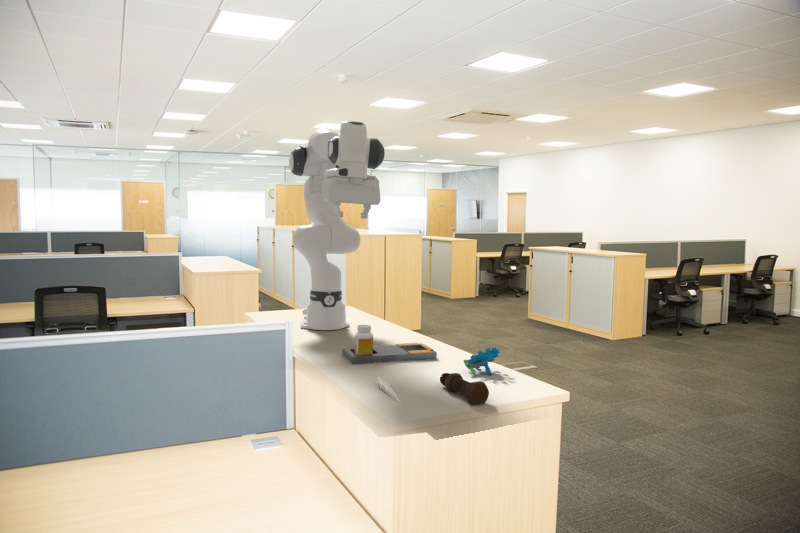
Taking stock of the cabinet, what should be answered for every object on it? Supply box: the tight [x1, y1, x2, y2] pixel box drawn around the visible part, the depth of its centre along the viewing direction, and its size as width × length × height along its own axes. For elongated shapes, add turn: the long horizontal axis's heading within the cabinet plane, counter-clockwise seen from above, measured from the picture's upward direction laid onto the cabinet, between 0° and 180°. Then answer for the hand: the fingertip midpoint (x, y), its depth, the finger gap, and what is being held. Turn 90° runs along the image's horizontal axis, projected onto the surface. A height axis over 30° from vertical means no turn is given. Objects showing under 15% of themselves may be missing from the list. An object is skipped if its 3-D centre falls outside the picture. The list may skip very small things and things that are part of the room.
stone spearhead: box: [376, 376, 400, 403], centre depth 123 cm, size 15×3×2 cm, turn 20°
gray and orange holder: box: [341, 342, 438, 365], centre depth 157 cm, size 12×26×2 cm, turn 110°
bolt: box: [439, 372, 490, 406], centre depth 123 cm, size 6×5×15 cm
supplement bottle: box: [354, 324, 374, 355], centre depth 154 cm, size 5×5×10 cm
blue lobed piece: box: [463, 347, 500, 377], centre depth 142 cm, size 11×6×10 cm
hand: (352, 218), depth 162 cm, fingers open, 8 cm apart
